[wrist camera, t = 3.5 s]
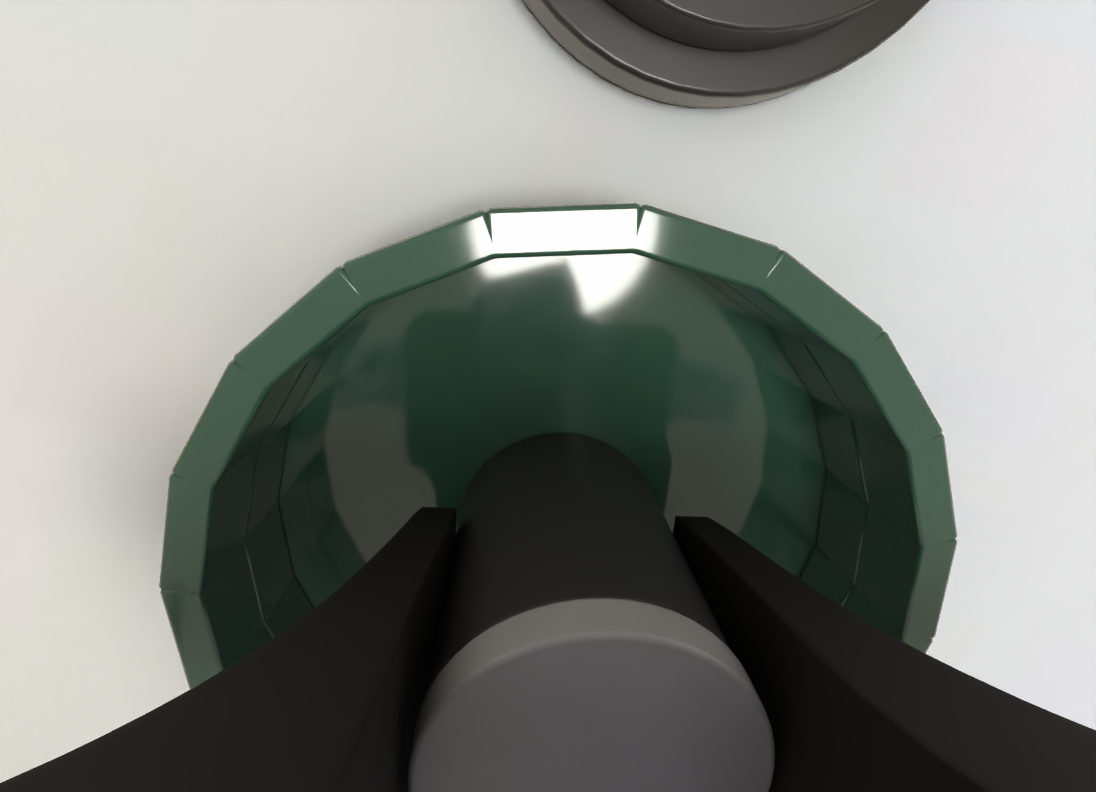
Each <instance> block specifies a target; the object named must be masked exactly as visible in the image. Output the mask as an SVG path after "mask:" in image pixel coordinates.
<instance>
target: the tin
mask: <svg viewBox="0 0 1096 792" xmlns="http://www.w3.org/2000/svg"><path fill="white" fill-rule="evenodd" d="M551 433H569V434H579V435H583V436H587V437H592V438H595V439H597V440H600V441H603V442H605V443H607V444H609V445H611V446H612V447H614V448H616V449H617V450H619V451H620V452H622V453H623V454H624V455H626V456H627V457H628V458H629V459H630V460H631V461H632V462H633V463H634V464H635V465H636V466H637V468H638V469H639V470H640V472H641V473H642V474H643V476H644V478H645V480H646V482H647V483H648V485H649V487H650V489H651V491H652V493H653V495H654V497H655V499H656V501H657V503H658V505H659V507H660V509H661V511H662V513H663V515H664V517H665V519H666V521H667V523H668V525H669V527H670V529H671V531H672V533H673V528H674V522H675V516H694V517H709V518H711V519H712V520H714V521H716V522H717V523H719V524H721V525H722V526H724V527H725V528H727V529H728V530H730V531H731V532H733V533H734V534H736V535H737V536H738V537H740V538H741V539H743V540H744V541H746V542H747V543H748V544H750V545H751V546H753V547H754V548H756V549H757V550H758V551H760V552H761V553H763V554H764V555H765V556H767V557H768V558H770V559H771V560H773V561H774V562H775V563H777V564H778V565H780V566H781V567H783V568H784V569H786V570H787V571H788V572H790V573H791V574H793V575H794V576H796V577H797V578H799V579H800V580H802V581H803V582H805V583H806V584H808V585H809V586H811V587H812V588H814V589H815V590H817V591H818V592H820V593H821V594H823V595H825V596H826V597H828V598H829V599H831V600H833V601H834V602H836V603H838V604H839V605H841V606H842V607H844V608H846V609H847V610H849V611H850V612H852V613H854V614H855V615H857V616H858V617H860V618H862V619H863V620H865V621H867V622H869V623H870V624H872V625H874V626H876V627H877V628H879V629H881V630H882V631H884V632H886V633H888V634H890V635H892V636H894V637H895V638H897V639H899V640H901V641H903V642H905V643H907V644H908V645H910V646H912V647H914V648H916V649H918V650H920V651H921V652H923V653H926V652H927V650H928V648H929V647H930V645H931V643H932V640H933V639H932V638H933V637H935V635H936V630H937V626H938V622H939V618H940V613H941V609H942V605H943V600H944V596H945V592H946V588H947V583H948V579H949V575H950V570H951V566H952V562H953V558H954V553H955V549H956V545H957V541H956V539H955V538H956V537H957V532H956V524H955V516H954V509H953V501H952V494H951V486H950V478H949V471H948V463H947V455H946V448H945V440H944V436H943V434H942V429H941V427H940V425H939V424H938V422H937V420H936V418H935V417H934V415H933V413H932V411H931V410H930V408H929V406H928V404H927V403H926V401H925V399H924V397H923V396H922V394H921V392H920V390H919V389H918V387H917V385H916V383H915V382H914V380H913V378H912V376H911V374H910V373H909V371H908V369H907V367H906V366H905V364H904V362H903V360H902V359H901V357H900V355H899V353H898V352H897V350H896V348H895V346H894V345H893V343H892V341H891V339H890V338H889V336H888V334H887V333H886V332H884V331H883V329H882V328H881V326H880V325H879V324H877V323H876V322H875V321H873V320H872V319H871V318H870V317H868V316H867V315H866V314H865V313H863V312H862V311H861V310H860V309H858V308H857V307H856V306H854V305H853V304H852V303H851V302H849V301H848V300H847V299H846V298H844V297H843V296H842V295H841V294H839V293H838V292H837V291H835V290H834V289H833V288H832V287H830V286H829V285H828V284H827V283H825V282H824V281H823V280H822V279H820V278H819V277H818V276H816V275H815V274H814V273H813V272H811V271H810V270H809V269H808V268H806V267H805V266H804V265H803V264H801V263H800V262H799V261H797V260H796V259H795V258H794V257H792V256H791V255H790V254H789V253H787V252H786V251H784V250H780V249H779V248H778V247H777V246H775V245H772V244H768V243H765V242H762V241H759V240H756V239H753V238H750V237H746V236H743V235H740V234H737V233H734V232H731V231H727V230H724V229H721V228H718V227H715V226H712V225H709V224H705V223H702V222H699V221H696V220H693V219H690V218H686V217H683V216H680V215H677V214H674V213H671V212H667V211H664V210H661V209H658V208H655V207H652V206H649V205H639V204H636V203H632V204H602V205H572V206H541V207H511V208H490V209H488V210H487V211H477V212H474V213H472V214H469V215H467V216H464V217H461V218H459V219H456V220H454V221H451V222H448V223H446V224H443V225H440V226H438V227H435V228H433V229H430V230H427V231H425V232H422V233H420V234H417V235H414V236H412V237H409V238H407V239H404V240H401V241H399V242H396V243H394V244H391V245H388V246H386V247H383V248H381V249H378V250H375V251H373V252H370V253H367V254H365V255H362V256H360V257H357V258H354V259H352V260H349V261H347V262H345V263H344V264H343V266H340V267H337V268H335V269H334V270H333V271H332V272H330V273H329V274H328V275H327V276H326V277H325V278H324V279H322V280H321V281H320V282H319V283H318V284H317V285H315V286H314V287H313V288H312V289H311V290H310V291H308V292H307V293H306V294H305V295H304V296H303V297H302V298H300V299H299V300H298V301H297V302H296V303H295V304H293V305H292V306H291V307H290V308H289V309H288V310H286V311H285V312H284V313H283V314H282V315H281V316H280V317H278V318H277V319H276V320H275V321H274V322H273V323H271V324H270V325H269V326H268V327H267V328H266V329H264V330H263V331H262V332H261V333H260V334H259V335H258V336H256V337H255V338H254V339H253V340H252V341H251V342H249V343H248V344H247V345H246V346H245V347H244V348H242V349H241V350H240V351H239V352H238V353H237V354H236V355H235V357H234V359H233V360H232V361H231V362H229V363H228V365H227V367H226V369H225V371H224V373H223V375H222V377H221V379H220V380H219V382H218V384H217V386H216V388H215V390H214V392H213V394H212V396H211V397H210V399H209V401H208V403H207V405H206V407H205V409H204V411H203V413H202V415H201V416H200V418H199V420H198V422H197V424H196V426H195V428H194V430H193V432H192V433H191V435H190V437H189V439H188V441H187V443H186V445H185V447H184V449H183V450H182V452H181V454H180V456H179V458H178V460H177V462H176V464H175V466H174V467H173V472H172V474H171V475H170V478H169V489H168V500H167V510H166V521H165V532H164V543H163V553H162V564H161V575H160V585H159V587H160V588H161V596H162V599H163V602H164V606H165V609H166V612H167V616H168V619H169V622H170V625H171V629H172V632H173V635H174V639H175V642H176V645H177V649H178V652H179V655H180V658H181V662H182V665H183V668H184V672H185V675H186V678H187V682H188V685H189V688H190V689H193V688H194V687H196V686H198V685H199V684H201V683H202V682H204V681H206V680H207V679H209V678H211V677H212V676H214V675H216V674H217V673H219V672H220V671H222V670H224V669H225V668H227V667H229V666H230V665H232V664H234V663H235V662H237V661H239V660H240V659H242V658H243V657H245V656H247V655H248V654H250V653H252V652H253V651H255V650H257V649H258V648H260V647H261V646H263V645H264V644H266V643H267V642H269V641H270V640H272V639H273V638H274V637H276V636H277V635H279V634H280V633H282V632H283V631H284V630H286V629H287V628H289V627H290V626H291V625H293V624H294V623H296V622H297V621H299V620H300V619H301V618H303V617H304V616H305V615H306V614H308V613H309V612H310V611H312V610H313V609H314V608H315V607H317V606H318V605H319V604H320V603H322V602H323V601H324V600H325V599H326V598H327V597H329V596H330V595H331V594H332V593H333V592H334V591H336V590H337V589H338V588H339V587H340V586H341V585H343V584H344V583H345V582H346V581H347V580H348V579H350V578H351V577H352V576H353V575H354V574H355V573H356V572H357V571H358V570H360V569H361V568H362V567H363V566H364V565H365V564H366V563H367V562H368V561H369V560H370V559H371V558H372V557H373V556H374V555H375V554H376V553H377V552H378V551H379V550H380V549H381V548H382V547H383V546H384V545H385V544H386V543H387V542H388V541H389V540H390V539H391V538H392V537H393V536H394V535H395V534H396V533H397V532H398V531H399V530H400V529H401V528H402V527H403V526H404V525H405V524H406V522H407V521H408V520H409V519H410V518H411V517H412V516H413V515H414V514H415V513H416V512H417V511H418V510H419V509H420V508H422V507H436V508H456V530H457V525H458V519H459V514H460V509H461V505H462V501H463V497H464V495H465V493H466V490H467V488H468V486H469V484H470V483H471V481H472V479H473V477H474V476H475V475H476V473H477V472H478V471H479V470H480V468H481V467H482V466H483V465H484V464H485V463H486V462H487V461H488V460H489V459H491V458H492V457H493V456H494V455H496V454H497V453H499V452H500V451H501V450H503V449H505V448H507V447H508V446H510V445H512V444H514V443H516V442H519V441H521V440H524V439H527V438H530V437H534V436H538V435H544V434H551Z"/></svg>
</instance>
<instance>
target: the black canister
mask: <svg viewBox="0 0 1096 792" xmlns="http://www.w3.org/2000/svg"><path fill="white" fill-rule="evenodd" d="M774 767H775V744H774V738H773V732H772V727H771V724H770V721H769V718H768V715H767V713H766V710H765V708H764V706H763V704H762V702H761V700H760V698H759V696H758V694H757V692H756V690H755V688H754V686H753V684H752V682H751V680H750V678H749V676H748V675H747V673H746V671H745V670H744V668H743V666H742V664H741V663H740V661H739V660H738V659H737V657H736V656H735V655H734V654H733V652H732V651H731V650H730V648H729V646H728V644H727V642H726V640H725V638H724V636H723V634H722V632H721V630H720V628H719V626H718V624H717V622H716V620H715V618H714V616H713V614H712V612H711V610H710V608H709V606H708V604H707V602H706V600H705V598H704V596H703V594H702V592H701V590H700V588H699V586H698V584H697V582H696V580H695V578H694V576H693V574H692V572H691V570H690V568H689V566H688V564H687V562H686V560H685V558H684V556H683V554H682V552H681V550H680V548H679V546H678V544H677V542H676V540H675V537H674V535H673V533H672V531H671V529H670V527H669V525H668V523H667V521H666V519H665V517H664V515H663V513H662V511H661V509H660V507H659V505H658V503H657V501H656V499H655V497H654V495H653V493H652V491H651V489H650V487H649V485H648V483H647V482H646V480H645V478H644V476H643V474H642V473H641V472H640V470H639V469H638V468H637V466H636V465H635V464H634V463H633V462H632V461H631V460H630V459H629V458H628V457H627V456H626V455H624V454H623V453H622V452H620V451H619V450H617V449H616V448H614V447H612V446H611V445H609V444H607V443H605V442H603V441H600V440H597V439H595V438H592V437H587V436H583V435H579V434H569V433H551V434H544V435H538V436H534V437H530V438H527V439H524V440H521V441H519V442H516V443H514V444H512V445H510V446H508V447H507V448H505V449H503V450H501V451H500V452H499V453H497V454H496V455H494V456H493V457H492V458H491V459H489V460H488V461H487V462H486V463H485V464H484V465H483V466H482V467H481V468H480V470H479V471H478V472H477V473H476V475H475V476H474V477H473V479H472V481H471V483H470V484H469V486H468V488H467V490H466V493H465V495H464V497H463V501H462V505H461V509H460V514H459V519H458V525H457V530H456V539H455V544H454V549H453V555H452V560H451V566H450V571H449V576H448V581H447V586H446V590H445V595H444V600H443V606H442V611H441V617H440V622H439V627H438V633H437V638H436V644H435V649H434V654H433V660H432V665H431V671H430V676H429V681H428V687H427V692H426V696H425V699H424V701H423V703H422V705H421V708H420V712H419V715H418V719H417V723H416V727H415V733H414V738H413V743H412V748H411V753H410V758H409V766H408V778H407V782H408V792H769V789H770V786H771V783H772V778H773V772H774Z"/></svg>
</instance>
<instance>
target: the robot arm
mask: <svg viewBox="0 0 1096 792" xmlns="http://www.w3.org/2000/svg"><path fill="white" fill-rule="evenodd" d="M673 535H674V537H675V540H676V542H677V544H678V546H679V548H680V550H681V552H682V554H683V556H684V558H685V560H686V562H687V564H688V566H689V568H690V570H691V572H692V574H693V576H694V578H695V580H696V582H697V584H698V586H699V588H700V590H701V592H702V594H703V596H704V598H705V600H706V602H707V604H708V606H709V608H710V610H711V612H712V614H713V616H714V618H715V620H716V622H717V624H718V626H719V628H720V630H721V632H722V634H723V636H724V638H725V640H726V642H727V644H728V646H729V648H730V650H731V651H732V652H733V654H734V655H735V656H736V657H737V659H738V660H739V661H740V663H741V664H742V666H743V668H744V670H745V671H746V673H747V675H748V676H749V678H750V680H751V682H752V684H753V686H754V688H755V690H756V692H757V694H758V696H759V698H760V700H761V702H762V704H763V706H764V708H765V710H766V713H767V715H768V718H769V721H770V724H771V727H772V732H773V738H774V744H775V767H774V772H773V778H772V783H771V786H770V789H769V792H1096V730H1094V729H1091V728H1088V727H1086V726H1083V725H1081V724H1078V723H1076V722H1073V721H1071V720H1068V719H1066V718H1064V717H1061V716H1059V715H1057V714H1054V713H1052V712H1049V711H1047V710H1045V709H1042V708H1040V707H1038V706H1035V705H1033V704H1031V703H1028V702H1026V701H1024V700H1021V699H1019V698H1017V697H1015V696H1013V695H1010V694H1008V693H1006V692H1004V691H1002V690H1000V689H998V688H995V687H993V686H991V685H989V684H987V683H985V682H982V681H980V680H978V679H976V678H974V677H972V676H969V675H967V674H965V673H963V672H961V671H959V670H957V669H955V668H953V667H951V666H949V665H947V664H945V663H943V662H941V661H939V660H937V659H935V658H933V657H931V656H929V655H927V654H925V653H923V652H921V651H920V650H918V649H916V648H914V647H912V646H910V645H908V644H907V643H905V642H903V641H901V640H899V639H897V638H895V637H894V636H892V635H890V634H888V633H886V632H884V631H882V630H881V629H879V628H877V627H876V626H874V625H872V624H870V623H869V622H867V621H865V620H863V619H862V618H860V617H858V616H857V615H855V614H854V613H852V612H850V611H849V610H847V609H846V608H844V607H842V606H841V605H839V604H838V603H836V602H834V601H833V600H831V599H829V598H828V597H826V596H825V595H823V594H821V593H820V592H818V591H817V590H815V589H814V588H812V587H811V586H809V585H808V584H806V583H805V582H803V581H802V580H800V579H799V578H797V577H796V576H794V575H793V574H791V573H790V572H788V571H787V570H786V569H784V568H783V567H781V566H780V565H778V564H777V563H775V562H774V561H773V560H771V559H770V558H768V557H767V556H765V555H764V554H763V553H761V552H760V551H758V550H757V549H756V548H754V547H753V546H751V545H750V544H748V543H747V542H746V541H744V540H743V539H741V538H740V537H738V536H737V535H736V534H734V533H733V532H731V531H730V530H728V529H727V528H725V527H724V526H722V525H721V524H719V523H717V522H716V521H714V520H712V519H711V518H709V517H694V516H675V522H674V528H673ZM455 539H456V508H436V507H422V508H420V509H419V510H418V511H417V512H416V513H415V514H414V515H413V516H412V517H411V518H410V519H409V520H408V521H407V522H406V524H405V525H404V526H403V527H402V528H401V529H400V530H399V531H398V532H397V533H396V534H395V535H394V536H393V537H392V538H391V539H390V540H389V541H388V542H387V543H386V544H385V545H384V546H383V547H382V548H381V549H380V550H379V551H378V552H377V553H376V554H375V555H374V556H373V557H372V558H371V559H370V560H369V561H368V562H367V563H366V564H365V565H364V566H363V567H362V568H361V569H360V570H358V571H357V572H356V573H355V574H354V575H353V576H352V577H351V578H350V579H348V580H347V581H346V582H345V583H344V584H343V585H341V586H340V587H339V588H338V589H337V590H336V591H334V592H333V593H332V594H331V595H330V596H329V597H327V598H326V599H325V600H324V601H323V602H322V603H320V604H319V605H318V606H317V607H315V608H314V609H313V610H312V611H310V612H309V613H308V614H306V615H305V616H304V617H303V618H301V619H300V620H299V621H297V622H296V623H294V624H293V625H291V626H290V627H289V628H287V629H286V630H284V631H283V632H282V633H280V634H279V635H277V636H276V637H274V638H273V639H272V640H270V641H269V642H267V643H266V644H264V645H263V646H261V647H260V648H258V649H257V650H255V651H253V652H252V653H250V654H248V655H247V656H245V657H243V658H242V659H240V660H239V661H237V662H235V663H234V664H232V665H230V666H229V667H227V668H225V669H224V670H222V671H220V672H219V673H217V674H216V675H214V676H212V677H211V678H209V679H207V680H206V681H204V682H202V683H201V684H199V685H198V686H196V687H194V688H193V689H191V690H189V691H187V692H185V693H184V694H182V695H180V696H178V697H176V698H174V699H173V700H171V701H169V702H167V703H165V704H163V705H162V706H160V707H158V708H156V709H154V710H152V711H150V712H149V713H147V714H145V715H143V716H141V717H139V718H137V719H135V720H133V721H131V722H129V723H127V724H125V725H123V726H121V727H119V728H117V729H115V730H113V731H111V732H110V733H108V734H106V735H104V736H102V737H100V738H98V739H96V740H94V741H92V742H89V743H87V744H85V745H83V746H81V747H79V748H77V749H75V750H73V751H71V752H69V753H67V754H65V755H62V756H60V757H58V758H56V759H53V760H51V761H49V762H47V763H44V764H42V765H40V766H38V767H35V768H33V769H31V770H29V771H27V772H24V773H22V774H20V775H18V776H15V777H13V778H11V779H9V780H6V781H4V782H2V783H0V792H408V782H407V778H408V766H409V758H410V753H411V748H412V743H413V738H414V733H415V727H416V723H417V719H418V715H419V712H420V708H421V705H422V703H423V701H424V699H425V696H426V692H427V687H428V681H429V676H430V671H431V665H432V660H433V654H434V649H435V644H436V638H437V633H438V627H439V622H440V617H441V611H442V606H443V600H444V595H445V590H446V586H447V581H448V576H449V571H450V566H451V560H452V555H453V549H454V544H455Z"/></svg>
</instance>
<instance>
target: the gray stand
mask: <svg viewBox="0 0 1096 792" xmlns="http://www.w3.org/2000/svg"><path fill="white" fill-rule="evenodd" d="M523 1H524V2H525V4H526V5H527V7H528V8H529V10H530V11H531V12H532V13H533V14H534V16H535V17H536V18H537V19H538V20H539V22H540V23H541V24H542V25H543V26H544V28H545V29H546V30H547V31H548V32H549V33H550V35H551V36H552V37H553V38H554V39H555V40H556V41H557V42H559V43H560V44H561V45H562V46H563V47H564V48H565V49H566V50H567V51H568V52H569V53H570V54H572V55H573V56H574V57H575V58H576V59H577V60H578V61H580V62H581V63H583V64H584V65H586V66H587V67H588V68H590V69H591V70H593V71H594V72H596V73H597V74H599V75H600V76H601V77H603V78H604V79H606V80H608V81H610V82H612V83H614V84H616V85H618V86H620V87H622V88H624V89H626V90H628V91H630V92H632V93H635V94H638V95H641V96H644V97H647V98H650V99H653V100H656V101H659V102H663V103H669V104H675V105H681V106H687V107H698V108H726V107H733V106H741V105H749V104H754V103H758V102H762V101H765V100H769V99H772V98H776V97H780V96H783V95H785V94H788V93H790V92H792V91H795V90H797V89H799V88H802V87H804V86H806V85H809V84H811V83H813V82H815V81H818V80H820V79H822V78H824V77H827V76H829V75H831V74H833V73H836V72H838V71H840V70H841V69H843V68H845V67H846V66H848V65H850V64H852V63H853V62H855V61H857V60H858V59H860V58H862V57H863V56H865V55H867V54H868V53H870V52H871V51H873V50H874V49H875V48H877V47H878V46H879V45H880V44H882V43H883V42H884V41H886V40H887V39H888V38H890V37H891V36H892V35H893V34H895V33H896V32H897V31H899V30H900V29H901V28H902V27H903V26H904V25H905V24H906V23H907V22H908V21H909V20H910V19H911V18H912V17H914V16H915V15H916V14H917V13H918V12H919V11H920V10H921V9H922V8H923V7H924V6H925V5H926V4H927V3H928V2H929V1H930V0H523Z"/></svg>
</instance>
